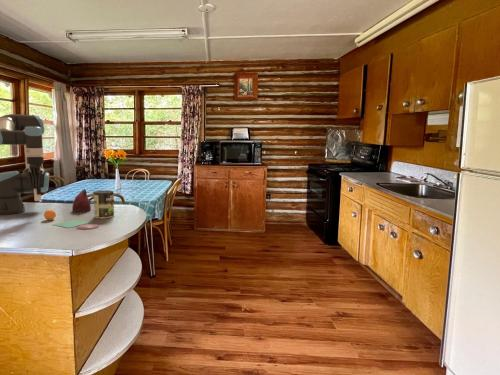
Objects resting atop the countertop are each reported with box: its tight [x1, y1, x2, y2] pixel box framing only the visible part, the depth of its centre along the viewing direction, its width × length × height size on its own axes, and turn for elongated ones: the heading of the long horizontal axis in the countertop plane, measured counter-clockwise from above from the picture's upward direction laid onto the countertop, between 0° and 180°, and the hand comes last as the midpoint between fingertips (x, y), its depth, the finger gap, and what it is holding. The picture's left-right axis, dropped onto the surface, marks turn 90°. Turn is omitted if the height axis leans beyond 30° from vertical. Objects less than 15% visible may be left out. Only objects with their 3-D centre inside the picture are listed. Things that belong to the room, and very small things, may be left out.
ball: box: [43, 209, 57, 221], centre depth 176 cm, size 6×6×6 cm
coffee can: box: [92, 190, 115, 220], centre depth 186 cm, size 10×10×14 cm
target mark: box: [52, 219, 90, 229], centre depth 169 cm, size 12×12×1 cm
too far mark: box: [76, 223, 100, 231], centre depth 164 cm, size 10×10×1 cm
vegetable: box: [71, 188, 92, 213], centre depth 200 cm, size 10×10×15 cm
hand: (38, 200), depth 179 cm, fingers closed
